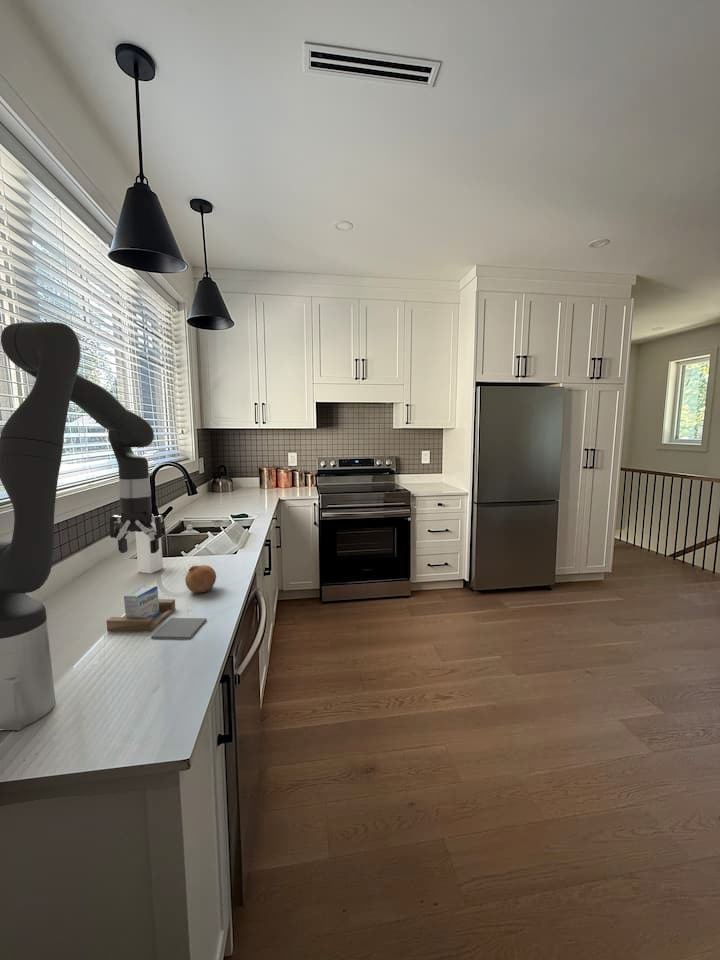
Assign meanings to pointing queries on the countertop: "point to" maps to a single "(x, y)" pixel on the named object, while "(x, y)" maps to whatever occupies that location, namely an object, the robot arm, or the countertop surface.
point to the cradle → (141, 619)
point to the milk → (148, 553)
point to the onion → (200, 578)
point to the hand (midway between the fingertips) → (139, 552)
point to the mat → (179, 628)
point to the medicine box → (142, 602)
